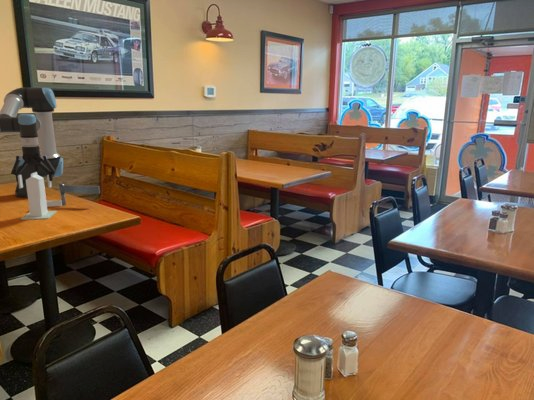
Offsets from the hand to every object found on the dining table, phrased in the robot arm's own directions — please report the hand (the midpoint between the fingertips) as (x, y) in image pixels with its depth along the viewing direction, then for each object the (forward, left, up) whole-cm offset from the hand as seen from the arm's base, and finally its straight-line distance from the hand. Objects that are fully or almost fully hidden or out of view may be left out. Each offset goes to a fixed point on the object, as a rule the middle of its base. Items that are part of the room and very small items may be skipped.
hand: (35, 187), depth 209 cm
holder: (-15, 0, -15) cm, 21 cm away
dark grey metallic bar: (-18, +16, -8) cm, 25 cm away
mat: (0, 0, -15) cm, 15 cm away
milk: (0, 0, -15) cm, 15 cm away
